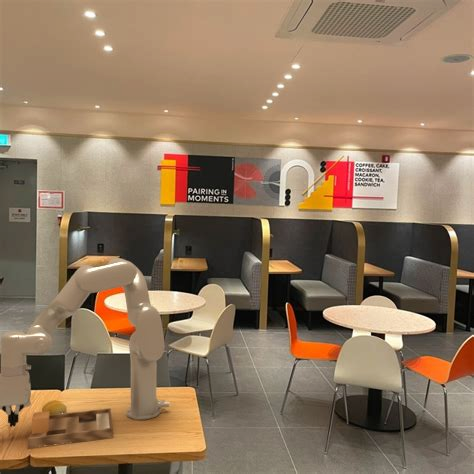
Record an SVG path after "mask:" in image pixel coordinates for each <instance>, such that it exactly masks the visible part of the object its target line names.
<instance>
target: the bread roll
mask: <svg viewBox="0 0 474 474" xmlns="http://www.w3.org/2000/svg"><path fill="white" fill-rule="evenodd" d="M46 411H49V415H54V414H62V413H64V412H65V411H66V412H67V406H66V404H64V403H63V402H61V401H59V400H56V399H55V400H49V401H48V402H46V403H45V404H44V405H43V406H42V408H41V412H46ZM66 412H65V413H66Z"/></svg>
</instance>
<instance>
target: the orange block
mask: <svg viewBox="0 0 474 474" xmlns="http://www.w3.org/2000/svg"><path fill="white" fill-rule="evenodd" d="M31 429H32V434H35V433H44V432H48V430H49V411H46V412H42V411H38V412H33V413H32V416H31Z"/></svg>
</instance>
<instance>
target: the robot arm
mask: <svg viewBox="0 0 474 474" xmlns="http://www.w3.org/2000/svg"><path fill="white" fill-rule="evenodd" d="M120 287H121V288H122V290H123V293H124V298H125V303H126V311H127V319H128V322H129V323H130V324H131V325H132V327H135V331H134V332H133V333H131V335H130V337H129V342H128V349H129V357H130V358H129V359H130V406H129V407H128V408H127V409H126V412H125V413H126V416H127V417H128V418H130V419H132V420H136V421H137V420H138V421H139V420H140V421H143V420H144V421H145V420H149V419H150V420H151V419H153V418H156V417H157V416H159V415H160V413H161V408H169V407H170V402H169V401H165V399H161V400H158V399H157V367H158V365H157V361H158V360H160V358H161V357H162V356H163V354H164V351H165V337H164V330H163V329H164V328H163V322H162V317H161V314H160V312H159V311H158V309H157V308H156V307H155V306H153V305H152V304H151V301H150V300H151V299H150V295H149V289H148V283H147V281H146V278H145V276H144V275H143V272H142V271H141V270H140V269H139V268H138V267H137V266H136V265H135V264H134V263H133V262H132V261H129V260H126V259H125V258H119V257H116V258H115V257H114V258H111V259H110V260H109V261H108V262H107V263H106V265H101V266H95V267H94V266H92V265H81V266H80V267H79V268H77V270H76V271H75V272H74V274H72V275H71V277H70V279H68V281H67V282H66V283H65V285H64V286H63V288H62V289H61V290H60V292H59V293H58V294H57V296H55V298H54V299H53V300H52V301H51V302H50V303H49V304H48V305H47V307H45V309H43V310H42V311H41V313H40V314H39V315H38V316H37V318H36V319H35V320H34V322H32V324H31V325H30V327H29V328H28V330H27V332H26V333H25V332H23V331H19V330H18V331H8V332H5V333H3V334H2V336H1V338H0V339H1V340H0V411H1V410H2V411H3V412H4V413H6V415H7V424H9V428H12V427H13V428H14V427H16V425H17V423H19V417H20V415H19V413H20V412H21V411H22V410H23V409H25V408H29V407H31V406H32V402H31V396H32V395H31V394H32V393H31V392H32V390H31V387H32V386H31V378H30V373H29V370H31V369H32V365H30V364H28V363H27V355H29V356H30V355H32V356H35V355H36V356H39V355H40V356H41V355H44V354H46V353H48V352H49V351H50V350H51V349H52V347H53V346H52V345H53V339H52V337H51V335H52V334H53V332H54V331H55V330H56V329H57V327H58V326H59V325H60V324H61V323H62V322H63V321H64V320H66V319H68V318H69V317H71V316H74V315H75V314H76V313H77V312H78V311H79V309H80V308H81V307H82V305H83V304H84V302H85V301H86V300H87V298H88V297H89V296H90V294H93V293H101V292H105V291H108V290H112V289H117V288H120ZM12 406H15V407H14V410H13V409H12V408H13V407H12Z"/></svg>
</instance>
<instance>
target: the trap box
mask: <svg viewBox="0 0 474 474" xmlns="http://www.w3.org/2000/svg"><path fill="white" fill-rule="evenodd" d="M113 429H114V427H113V420H112V409H111V407H110V408H101V409H94V410H84V411H74V412H65V413H63V414H54V415H49V430H48V432H44V433H35V434H32V428H31V430H30V433H29V437H28V438H27V449H28V450H29V449H36V448H35V447H38V448H40V447H39V446H44V445H54V444H62V443H70V442H77V443H84V442H83V441H85V442H91V440H93V441H99V440H100V441H101V440H107V439H113V438H114V436H113V435H114V433H113V432H114V431H113ZM70 444H71V443H70ZM62 445H63V444H62ZM54 446H55V445H54Z"/></svg>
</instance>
